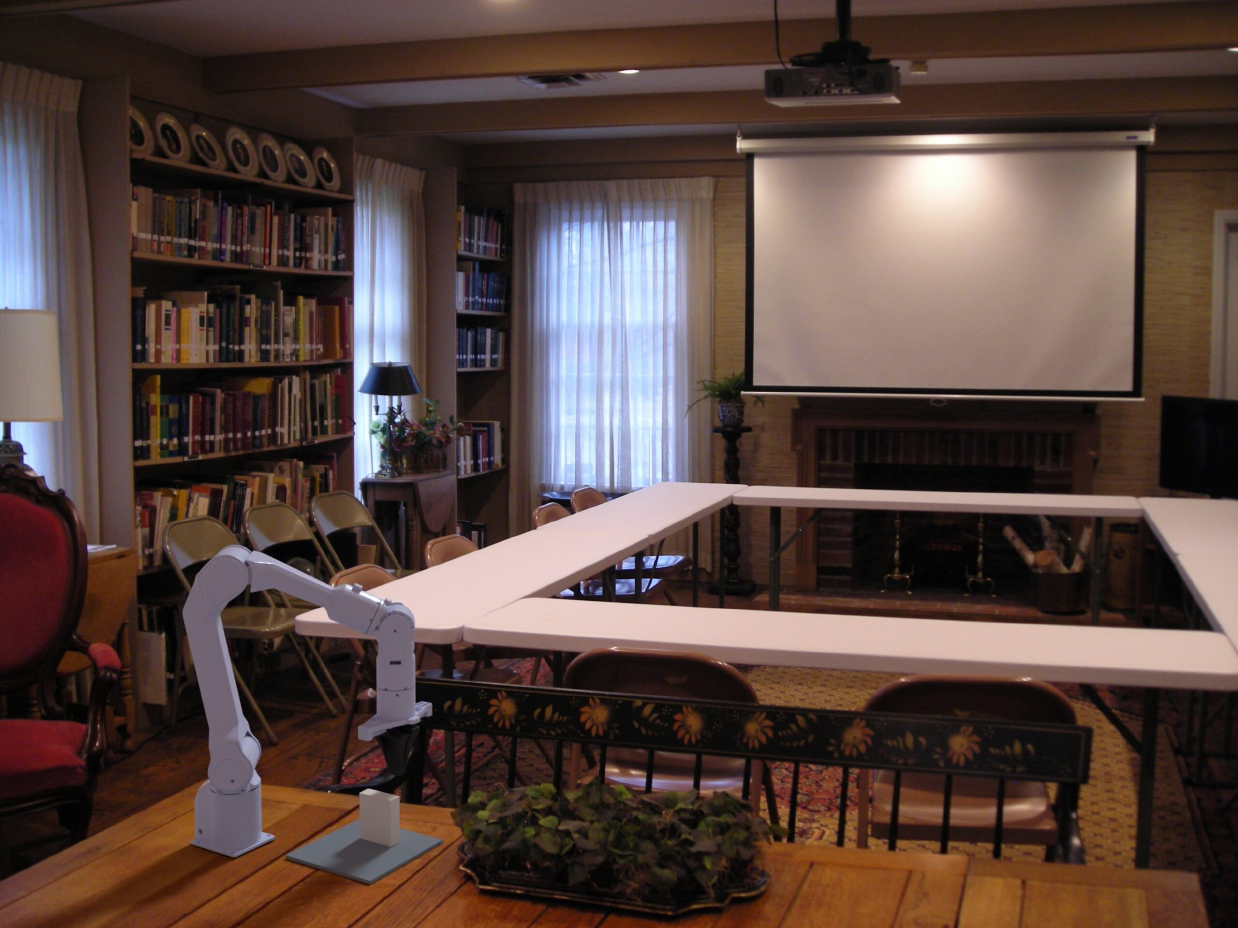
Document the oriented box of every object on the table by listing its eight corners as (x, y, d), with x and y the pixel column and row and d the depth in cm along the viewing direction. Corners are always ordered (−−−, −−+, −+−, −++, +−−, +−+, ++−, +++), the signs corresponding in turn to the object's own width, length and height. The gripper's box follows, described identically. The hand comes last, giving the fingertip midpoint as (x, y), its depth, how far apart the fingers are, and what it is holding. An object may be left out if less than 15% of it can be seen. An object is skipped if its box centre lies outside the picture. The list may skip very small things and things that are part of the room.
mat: (285, 858, 168) (285, 854, 167) (361, 820, 181) (361, 817, 181) (370, 884, 160) (370, 880, 160) (442, 842, 174) (442, 839, 174)
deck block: (359, 837, 174) (359, 792, 173) (368, 833, 175) (368, 788, 175) (390, 846, 171) (390, 800, 170) (399, 841, 173) (399, 796, 172)
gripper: (383, 702, 166) (384, 793, 167) (447, 678, 179) (447, 763, 180) (346, 694, 170) (347, 784, 171) (411, 671, 182) (412, 755, 183)
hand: (396, 773), depth 176 cm, fingers closed
